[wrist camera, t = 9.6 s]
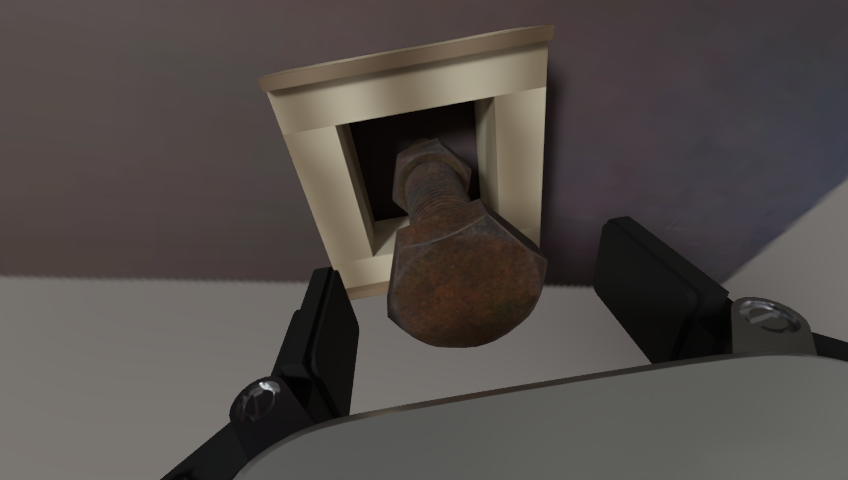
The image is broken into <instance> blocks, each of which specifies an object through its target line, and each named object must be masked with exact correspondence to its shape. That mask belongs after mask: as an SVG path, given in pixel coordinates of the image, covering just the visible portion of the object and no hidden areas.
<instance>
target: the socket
mask: <svg viewBox="0 0 848 480" xmlns="http://www.w3.org/2000/svg"><path fill="white" fill-rule="evenodd" d="M552 39H554V24H552V25H542V26H533V27H523V28H514V29H508V30H503V31H497V32H492V33H486V34H481V35H475V36H469V37H464V38H458V39H453V40H447V41H442V42H436V43H431V44H425V45H420V46H414V47H409V48H403V49H398V50H392V51H387V52H381V53H376V54H370V55H365V56H359V57H354V58H348V59H343V60H337V61H332V62H326V63H321V64H315V65H310V66H304V67H299V68H293V69H288V70H284V71H281V72H277V73H274V74H270V75H267V76H263V77H260V78H257V79H258V82H259V85H260V87H261V90H262V92H266V91H267V94H268V96H269V99H270V102H271V104H272V107H273V110H274V112H275V115H276V118H277V120H278V123H279V126H280V128H281V131H282V134H283V136H284V139H285V142H286V144H287V147H288V149H289V152H290V155H291V157H292V160H293V163H294V165H295V168H296V171H297V173H298V176H299V179H300V181H301V184H302V187H303V189H304V192H305V195H306V197H307V200H308V203H309V205H310V208H311V211H312V213H313V216H314V219H315V221H316V224H317V227H318V229H319V232H320V234H321V237H322V240H323V242H324V245H325V248H326V250H327V253H328V256H329V258H330V261H331V264H332V266H333V269H334V270H338V271H339V273H340V275H341V278H342V281H343V284H344V286H345V289H346V292H347V295H348V297H349V300H355V299H360V298H366V297H371V296H376V295H382V294H387V293H388V288H389V281H390V274H391V267H392V260H393V253H394V246H395V239H396V232H397V230H398V229H400V228H403V227H406V226H408V225H410V224H409V215H408V216H403V217H397V218H392V219H387V220H381V221H376V222H375V220H374V216H373V213H372V209H371V205H370V201H369V198H368V194H367V190H366V186H365V183H364V179H363V175H362V171H361V168H360V164H359V160H358V156H357V152H356V149H355V145H354V141H353V137H352V134H351V130H350V126H349V123H351V122H357V121H362V120H368V119H373V118H379V117H384V116H390V115H395V114H400V113H406V112H411V111H417V110H422V109H428V108H433V107H439V106H444V105H450V104H455V103H461V102H466V101H472V100H474V111H475V126H476V141H477V156H478V170H479V185H480V200H481V201H483V202H484V203H485V204H486V205H488V206H489V207H490V208H491V209H493V210H494V211H495V212H497V213H498V214H499V215H500V216H502V217H503V218H504V219H505V220H507V221H508V222H509V223H510V224H512V225H513V226H514V227H515V228H517V229H518V230H519V231H520V232H522V233H523V234H524V235H525V236H527V237H528V238H529V239H531V240H532V241H533V242H534V243H535V244H536V245H537V246H538V248H539V246H540V222H541V198H542V174H543V150H544V126H545V102H546V78H547V54H548V40H552Z"/></svg>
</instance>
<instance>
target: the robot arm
mask: <svg viewBox="0 0 848 480" xmlns="http://www.w3.org/2000/svg"><path fill="white" fill-rule="evenodd" d="M594 290H595V292H596V293H597V295H598V296H599V297H600V299H601V300H602V301H603V302H604V304H605V305H606V306H607V307H608V309H609V310H610V311H611V312H612V314H613V315H614V316H615V318H616V319H617V320H618V321H619V323H620V324H621V325H622V327H623V328H624V329H625V330H626V332H627V333H628V334H629V335H630V337H631V338H632V339H633V340H634V342H635V343H636V344H637V345H638V347H639V348H640V349H641V350H642V352H643V353H644V354H645V356H646V357H647V358H648V359H649V361H650V362H651V363H652V364H650V365H644V366H637V367H632V368H625V369H618V370H613V371H606V372H600V373H593V374H587V375H581V376H574V377H569V378H562V379H556V380H550V381H544V382H537V383H531V384H525V385H519V386H513V387H507V388H501V389H495V390H489V391H483V392H477V393H471V394H465V395H459V396H454V397H447V398H442V399H435V400H430V401H424V402H418V403H412V404H406V405H401V406H395V407H390V408H385V409H380V410H374V411H368V412H363V413H358V414H354V415H349V413H350V404H351V396H352V388H353V379H354V371H355V363H356V355H357V346H358V338H359V325H358V322H357V319H356V316H355V314H354V311H353V308H352V306H351V303H350V300H349V297H348V295H347V292H346V289H345V286H344V284H343V281H342V278H341V275H340V273H339V271H338V270H333V268H332V267H326V268H320V269H315V270H314V272H313V274H312V277H311V280H310V283H309V286H308V289H307V291H306V294H305V297H304V300H303V303H302V306H301V309H300V310H296V311H295V312H294V314H293V317H292V319H291V322H290V325H289V327H288V330H287V333H286V336H285V338H284V341H283V344H282V346H281V349H280V352H279V355H278V357H277V360H276V363H275V365H274V368H273V371H272V373H271V376H269V377H264V378H261V379H258V380H256V381H254V382H252V383H251V384H249V385H248V386H247V387H245V388H244V389H243V390H242V391H241V392H240V393H239V395H238V396H237V397H236V398H235V400H234V402H233V403H232V405H231V408H230V412H229V418H230V423H228V424H227V425H226V426H225V427H224V428H222V429H221V430H220V431H219V432H218V433H216V434H215V435H214V436H213V437H211V438H210V439H209V440H208V441H207V442H205V443H204V444H203V445H202V446H200V447H199V448H198V449H197V450H196V451H194V452H193V453H192V454H191V455H190V456H188V457H187V458H186V459H185V460H184V461H182V462H181V463H180V464H179V465H177V466H176V467H175V468H174V469H173V470H171V471H170V472H169V473H168V474H166V475H165V476H164V477H163V478H162V479H160V480H848V342H844V341H841V340H837V339H834V338H830V337H827V336H824V335H820V334H817V333H813V332H811V329H810V326H809V324H808V322H807V320H806V319H805V318H804V317H803V316H801V315H800V314H799V313H798V312H796V311H794V310H793V309H791V308H789V307H788V306H785V305H783V304H781V303H778V302H775V301H772V300H768V299H763V298H756V297H744V298H740V299H737V300H736V301H734V302H733V301H732V300H730V299H729V298H728V297H727V296H728V294H729V292H728V291H727V290H726V289H724V288H723V287H722V286H720V285H719V284H718V283H716V282H715V281H714V280H713V279H711V278H710V277H709V276H707V275H706V274H705V273H703V272H702V271H701V270H699V269H698V268H697V267H695V266H694V265H693V264H691V263H690V262H689V261H687V260H686V259H685V258H683V257H682V256H681V255H679V254H678V253H677V252H676V251H674V250H673V249H672V248H670V247H669V246H668V245H666V244H665V243H664V242H662V241H661V240H660V239H658V238H657V237H656V236H654V235H653V234H652V233H650V232H649V231H648V230H646V229H645V228H644V227H642V226H641V225H640V224H639V223H637V222H636V221H635V220H633V219H632V218H630V217H629V216H625V217H619V218H613V219H610V220H608V222H607V224H605V225H604V226H603V228H602V234H601V240H600V246H599V252H598V259H597V265H596V271H595V277H594Z"/></svg>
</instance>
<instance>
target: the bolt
mask: <svg viewBox="0 0 848 480" xmlns="http://www.w3.org/2000/svg"><path fill="white" fill-rule="evenodd" d="M470 177H471V168H470V167H469V165H468V164H467V163H466V162H465V161H464V160H463V159H462V158H461V157H460V156H458V155H457V154H456V153H455V152H454V151H453V150H451V149H450V148H449V147H448V146H446V145H445V144H444V143H443V142H441V141H440V140H439V139H437V138H436V139H432V140H429V141H428V139H426V138H422V139H418V140H416V141H415V142H414V143H412V144H411V145H410V146H409V147H408V148H407V149H406V150H404V151H402V152H401V153H399V154H397V160H396V166H395V174H394V182H393V193H392V194H393V201H394V202H395V203H396V204H398V205H399V206H400V207H401V208H402V209H404V210H405V211H406V212H407V213H408V215H409V224H410V225H408V226H406V227H403V228H400V229H398V230H397V232H396V239H395V246H394V253H393V260H392V267H391V274H390V281H389V288H388V295H387V310H388V318H390V319H391V320H392V321H393V322H394V323H395V324H397V325H398V326H399V327H400V328H401V329H402V330H404V331H405V332H407V333H408V334H410V335H411V336H412V337H414V338H416V339H417V340H419V341H422V342H424V343H426V344H428V345H432V346H436V347H448V348H467V347H477V346H480V345H484V344H487V343H490V342H493V341H495V340H497V339H498V338H500V337H502V336H504V335H506V334H507V333H509V332H510V331H511V330H513V329H514V328H515V327H516V326H518V325H519V324H520V323H522V322H523V321H524V320H525V319H526V318H527V317H528V316H529V315H530V314H531V312H532V311H533V309H534V308H535V306H536V304H537V302H538V299H539V297H540V294H541V292H542V288H543V284H544V280H545V275H546V269H547V262H548V260H547V259H546V257H545V256H544V255H543V253H542V252H541V250H540V249H539V248H538V246H537V245H536V244H535V243H534V242H533V241H532V240H531V239H529V238H528V237H527V236H525V235H524V234H523V233H522V232H520V231H519V230H518V229H517V228H515V227H514V226H513V225H512V224H510V223H509V222H508V221H507V220H505V219H504V218H503V217H502V216H500V215H499V214H498V213H497V212H495V211H494V210H493V209H491V208H490V207H489V206H488V205H486V204H485V203H484V202H483V201H481V200H480V199H477V200H474V201H472V202H471V199H470V197H469V195H468V194H467V193H468V188H469V183H470Z"/></svg>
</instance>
